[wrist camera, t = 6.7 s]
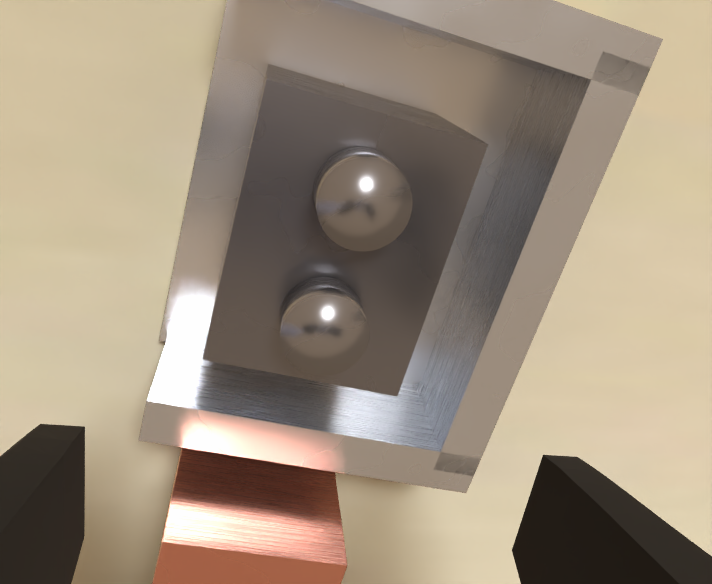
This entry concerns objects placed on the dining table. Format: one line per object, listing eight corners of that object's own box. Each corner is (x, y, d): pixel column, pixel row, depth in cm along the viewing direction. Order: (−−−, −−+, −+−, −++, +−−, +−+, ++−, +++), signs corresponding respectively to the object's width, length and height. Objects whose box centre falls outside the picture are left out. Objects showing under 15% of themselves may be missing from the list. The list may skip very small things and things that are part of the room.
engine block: (218, 281, 18) (197, 383, 13) (268, 63, 16) (265, 84, 11) (370, 314, 19) (405, 421, 14) (436, 113, 17) (505, 154, 12)
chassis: (91, 682, 24) (40, 870, 19) (245, -84, 15) (229, -141, 10) (327, 700, 26) (340, 875, 21) (588, 35, 17) (733, 42, 12)
